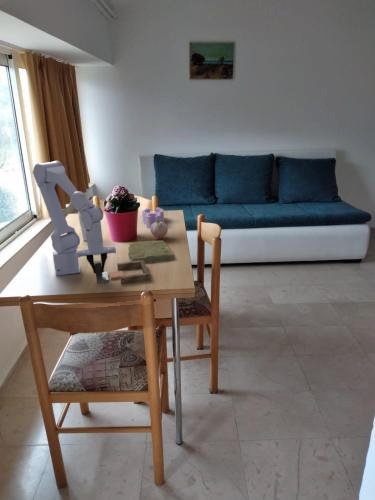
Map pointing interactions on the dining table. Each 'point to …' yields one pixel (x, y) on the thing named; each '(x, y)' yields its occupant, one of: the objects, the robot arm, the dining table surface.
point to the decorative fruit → (159, 229)
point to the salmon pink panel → (116, 275)
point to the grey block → (100, 273)
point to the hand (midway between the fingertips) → (98, 271)
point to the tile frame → (136, 277)
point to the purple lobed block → (152, 216)
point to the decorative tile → (149, 251)
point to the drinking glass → (82, 228)
